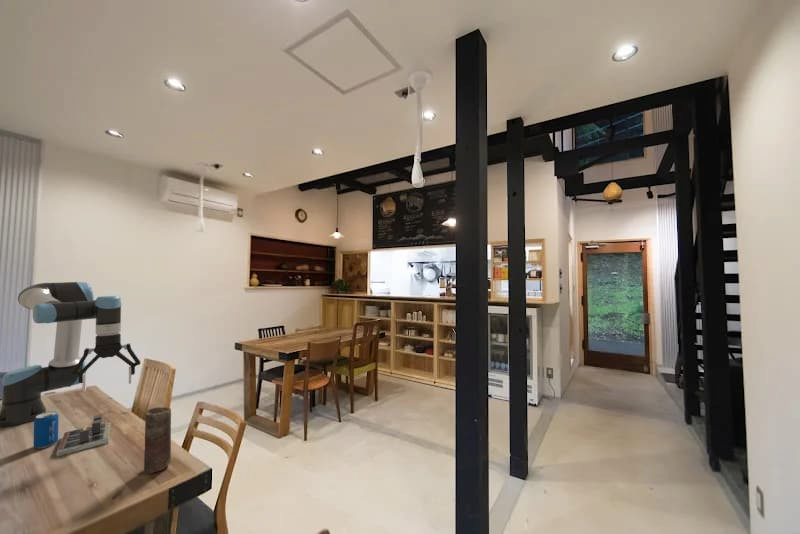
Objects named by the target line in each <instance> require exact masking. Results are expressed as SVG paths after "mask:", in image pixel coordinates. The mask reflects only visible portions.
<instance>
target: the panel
mask: <svg viewBox="0 0 800 534" xmlns="http://www.w3.org/2000/svg"><path fill="white" fill-rule="evenodd" d="M89 427H90V428H89V440H88V441H84V442H80V430H81V429H82V428H79V429H75V430H69V431H66V432H64V433H63V435H62V438H61V441H60V443H59V445H58V447H57V451H56V457H61V456H64V455H68V454H72V453H77V452H80V451H83V450H88V449H92V448H96V447H99V446H103V445H107V444H109V441H110V435H111V428H112V421H109V422H105V423H102V426H101V431H100V432H99V433H94V434H92V425H91V426H89Z"/></svg>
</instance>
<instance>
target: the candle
mask: <svg viewBox="0 0 800 534" xmlns="http://www.w3.org/2000/svg"><path fill="white" fill-rule="evenodd" d="M144 419H145V421H144V423H145V424H144V456H143V457H144V458H143V459H144V460H143V468H144V469H143V473H144V474H149V475H150V474H152V473H156V472H159V471H161V470H162V471H163V470H164V469H165V468H166V467H168V465H169V464H170V463H171V461H172V457H171V456H172V449H171V448H172V443H171V442H172V438H171V437H172V432H171V431H172V409H171V407H167V406H166V407H165V406H162V407H158V406H157V407H153V408H150V409H148V410H146V412H145V418H144Z"/></svg>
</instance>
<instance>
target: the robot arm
mask: <svg viewBox="0 0 800 534" xmlns="http://www.w3.org/2000/svg"><path fill="white" fill-rule="evenodd" d="M121 299H122V298H121V297H120V296H119V295H108V296H107V295H106V296H105V295H104V296H97V297H96V299H95V297H94V292H93V288H92V286H91V284H89V283H88V282H79V281H78V282H77V281H68V282H67V281H66V282H65V281H64V282H43V283H42V282H41V283H36V284H33V285H30V286H28V287H26V288H24V289H23V290H21V291H20V292H19V294H18V296H17V301H18V304H19V305H20V306H22V307H23V308H25V309H27V310H32V319H33V322H34V323H35V324H53V323H56V327H55V329H56V331H55V339H54V349H53V350H54V351H53V359H51V360H49V362H48V366H45V367H43V366H42V365H40V364H35V365H28V366H24V367H20V368H16V369H14V370H10V371H9V372H7V373H5V374H4V375H3V377H2V383H1V386H2V388H1V389H2V391H1V395H2V396H1V407H0V427H2V428H3V426H5V427H11V426H18V425H23V424H26V423H30V422H32V421H33V422H34V420H35V419H36V416H38V415H40V414H43V413H47V408H46V406H45V404H44V402H43V400H42V393H45V392H49V391H50V392H51V391H54V390H59V389H63V388H69V387H72V386H76V385H79V384H82V386H81V387H82V393H85V392H86V390H87V371H88V370H89V369H90V368H91V366H92V365H94V363H96V362H97V360H99V359H100V358H101V359H107V358H114V357H115V356H116V357H117V358H120V359H121V360H122V361H123V362H125V363H126V364H127V365H128V366H129V367H128V384H132V376H134V375H135V373H136V366H139V365H141V361H140V359H139V358H138V355H136V354H135V352H134V350H133V349H132V348H131V347H132V346H131V343H126V344H122V343H121V340H122V339H121V338H122V337H121V328H122V325H121V323H122V322H121V321H122V317H121V316H122V314H121V313H122V301H121ZM83 320H95V335H96V336H95V347H94V348H89V347H86V348H85V349H84V350H83V355H82V356H81V357H80V356H79V353H80V345H81V335H82V334H81V333H82V323H83ZM122 349H124V350H125V351H126V350H127V351H126V352H127V353H128V355H130V356H131V358H132V360H133V361H134V362H133V361H132V360H130V359H129V358H128V356H127V357H126V356H125V354H123V353H122V352H121V350H122ZM92 352H93V353H95V354H96V355H95V356H94V357H93V358H92V359H91V360H90V361H89V362H88V363H86V361H85V360H86V359H87V357H88V356H89V355H91V354H92Z"/></svg>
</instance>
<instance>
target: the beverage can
mask: <svg viewBox="0 0 800 534" xmlns="http://www.w3.org/2000/svg"><path fill="white" fill-rule="evenodd" d="M59 416H60V415H59V414H58V411H55V410H54V411H46V413H43V414H40V415H38V416H36V419H35V420H33V448H35V449H45V448H49V447H52V446H53V445H55V444H56V443H57V442H58V441H59V419H60V418H59Z"/></svg>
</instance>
